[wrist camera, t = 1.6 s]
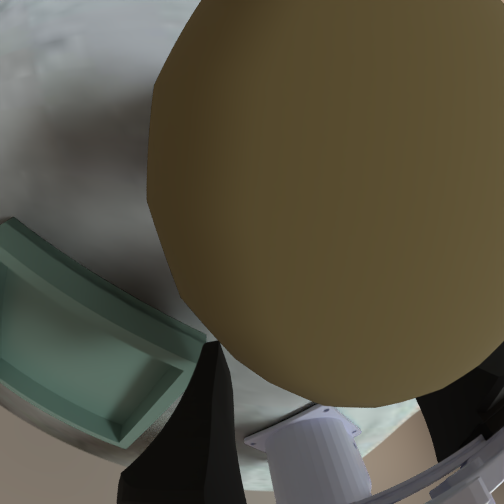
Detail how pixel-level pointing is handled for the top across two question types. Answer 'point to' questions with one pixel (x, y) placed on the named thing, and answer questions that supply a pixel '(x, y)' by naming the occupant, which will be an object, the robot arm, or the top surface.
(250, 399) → the top surface
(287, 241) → the cork
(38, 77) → the top surface
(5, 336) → the tray
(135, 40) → the top surface
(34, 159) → the top surface
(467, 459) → the robot arm
